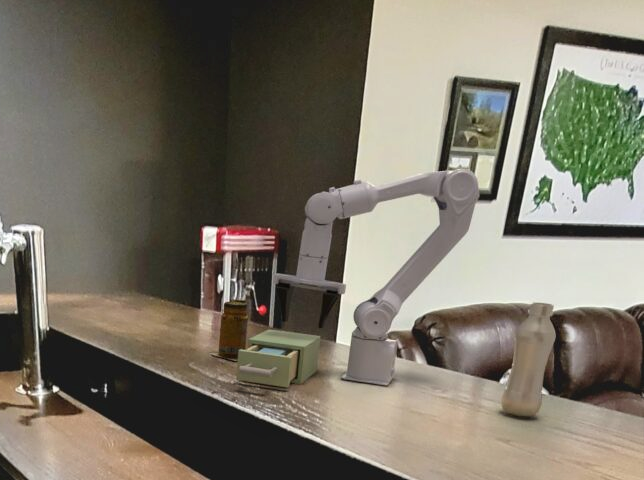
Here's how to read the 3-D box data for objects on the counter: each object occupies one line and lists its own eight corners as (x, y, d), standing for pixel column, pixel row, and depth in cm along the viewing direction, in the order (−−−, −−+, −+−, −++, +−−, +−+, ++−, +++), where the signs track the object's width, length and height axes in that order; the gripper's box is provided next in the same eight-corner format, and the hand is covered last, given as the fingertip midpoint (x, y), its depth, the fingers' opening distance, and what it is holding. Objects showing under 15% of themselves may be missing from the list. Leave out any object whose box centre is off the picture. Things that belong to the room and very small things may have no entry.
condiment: (232, 351, 169) (236, 300, 165) (258, 359, 163) (262, 305, 159) (209, 354, 165) (212, 301, 161) (234, 362, 159) (238, 307, 155)
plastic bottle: (542, 422, 127) (568, 308, 121) (502, 417, 128) (525, 304, 122) (533, 412, 133) (558, 303, 127) (495, 408, 134) (517, 300, 128)
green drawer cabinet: (300, 384, 143) (304, 346, 141) (245, 376, 147) (248, 339, 145) (316, 371, 155) (320, 336, 153) (265, 363, 159) (268, 329, 157)
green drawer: (279, 393, 132) (283, 362, 130) (226, 385, 135) (228, 355, 133) (304, 374, 147) (307, 346, 145) (255, 367, 151) (258, 340, 149)
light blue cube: (283, 372, 143) (285, 350, 142) (277, 377, 139) (279, 354, 138) (262, 369, 145) (264, 347, 143) (255, 373, 141) (257, 351, 139)
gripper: (273, 252, 142) (263, 320, 147) (345, 262, 138) (333, 332, 142) (282, 251, 148) (273, 316, 153) (352, 260, 144) (340, 328, 148)
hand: (302, 324), depth 148 cm, fingers open, 7 cm apart
